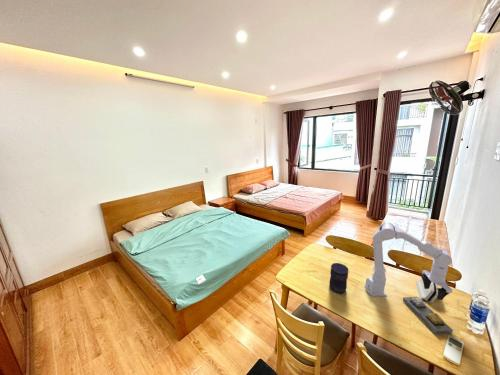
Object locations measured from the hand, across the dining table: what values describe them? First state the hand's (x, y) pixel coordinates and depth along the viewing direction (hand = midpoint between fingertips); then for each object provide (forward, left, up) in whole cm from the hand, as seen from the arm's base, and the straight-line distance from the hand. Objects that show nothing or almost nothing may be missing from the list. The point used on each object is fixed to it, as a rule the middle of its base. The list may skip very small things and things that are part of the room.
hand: (432, 293), depth 105 cm
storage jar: (-43, +18, -10) cm, 47 cm away
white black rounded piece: (+8, +11, -10) cm, 17 cm away
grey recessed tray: (-6, -4, -10) cm, 12 cm away
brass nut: (-6, -9, -10) cm, 15 cm away
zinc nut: (-6, +1, -10) cm, 12 cm away
